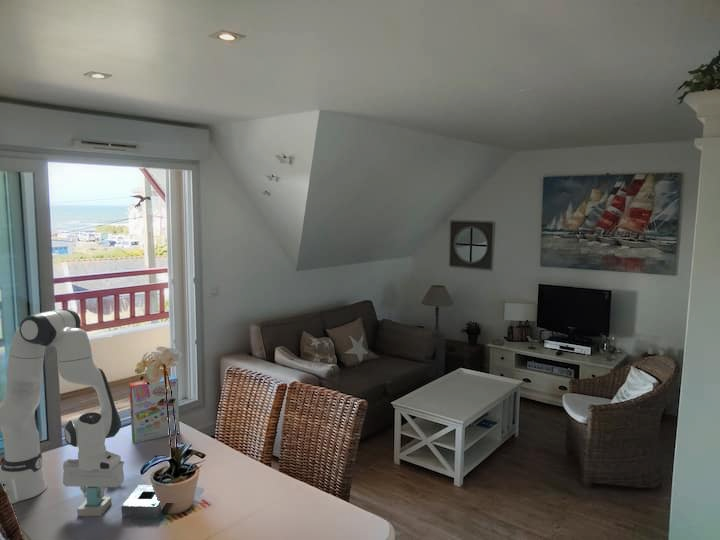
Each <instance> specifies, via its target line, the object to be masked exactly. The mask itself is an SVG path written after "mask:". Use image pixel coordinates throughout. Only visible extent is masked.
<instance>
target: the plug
mask: <svg viewBox="0 0 720 540" xmlns="http://www.w3.org/2000/svg"><path fill="white" fill-rule="evenodd" d="M100 491H102V489H101V488H100V487H86V495H87V498H86V499H87V507H98V506H99V505H100V504H101V503H102V498H98V493H99V492H100Z"/></svg>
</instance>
